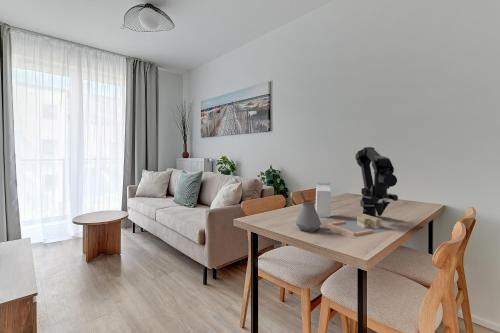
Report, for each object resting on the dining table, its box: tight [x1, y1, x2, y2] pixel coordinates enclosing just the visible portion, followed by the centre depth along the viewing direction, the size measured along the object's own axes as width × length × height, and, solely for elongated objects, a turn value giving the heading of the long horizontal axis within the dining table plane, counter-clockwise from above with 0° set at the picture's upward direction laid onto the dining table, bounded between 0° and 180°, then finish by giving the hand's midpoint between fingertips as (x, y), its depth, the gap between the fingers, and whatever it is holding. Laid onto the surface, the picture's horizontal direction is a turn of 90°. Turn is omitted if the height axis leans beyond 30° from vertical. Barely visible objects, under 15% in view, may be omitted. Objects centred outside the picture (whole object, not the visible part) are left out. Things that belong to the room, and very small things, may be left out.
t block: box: [356, 213, 383, 229], centre depth 116 cm, size 8×10×4 cm
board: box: [325, 219, 389, 239], centre depth 113 cm, size 21×18×2 cm
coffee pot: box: [295, 191, 322, 232], centre depth 118 cm, size 21×12×15 cm, turn 2°
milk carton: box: [315, 181, 332, 219], centre depth 135 cm, size 7×7×19 cm
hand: (379, 215), depth 119 cm, fingers closed
